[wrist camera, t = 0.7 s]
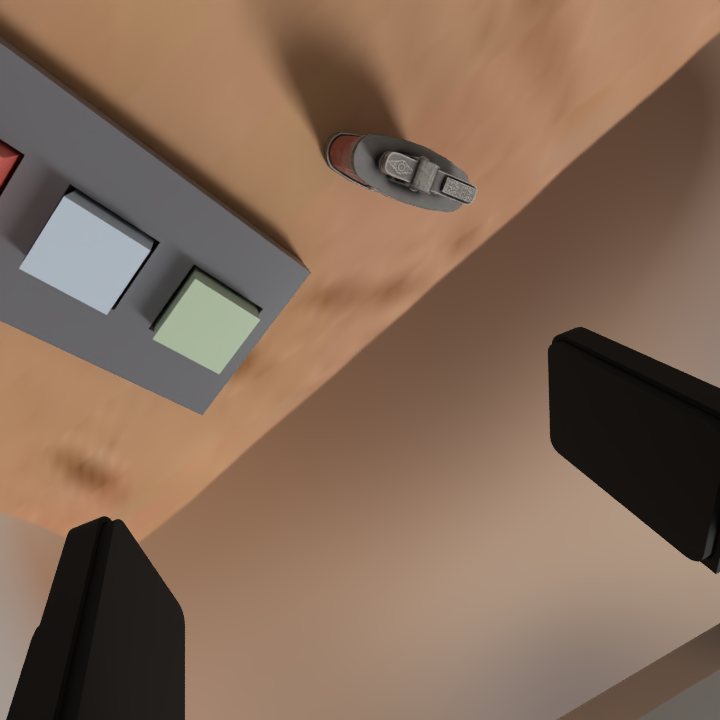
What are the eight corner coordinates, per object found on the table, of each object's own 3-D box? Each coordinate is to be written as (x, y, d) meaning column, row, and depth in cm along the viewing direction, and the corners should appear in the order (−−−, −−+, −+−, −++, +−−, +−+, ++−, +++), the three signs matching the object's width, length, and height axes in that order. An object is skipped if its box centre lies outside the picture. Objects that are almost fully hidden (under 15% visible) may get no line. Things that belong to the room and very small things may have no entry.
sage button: (195, 264, 32) (195, 278, 29) (255, 303, 34) (260, 319, 32) (156, 320, 33) (152, 339, 30) (217, 354, 35) (219, 374, 32)
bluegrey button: (78, 188, 28) (64, 196, 25) (155, 238, 30) (150, 250, 28) (37, 254, 29) (19, 268, 26) (115, 297, 31) (106, 315, 28)
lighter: (318, 170, 33) (358, 185, 25) (332, 121, 32) (380, 119, 24) (412, 205, 37) (476, 230, 28) (428, 162, 35) (500, 173, 27)
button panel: (-58, -8, 24) (-89, -23, 21) (302, 262, 36) (310, 272, 33) (-172, 212, 26) (-212, 221, 24) (202, 395, 38) (202, 415, 36)
